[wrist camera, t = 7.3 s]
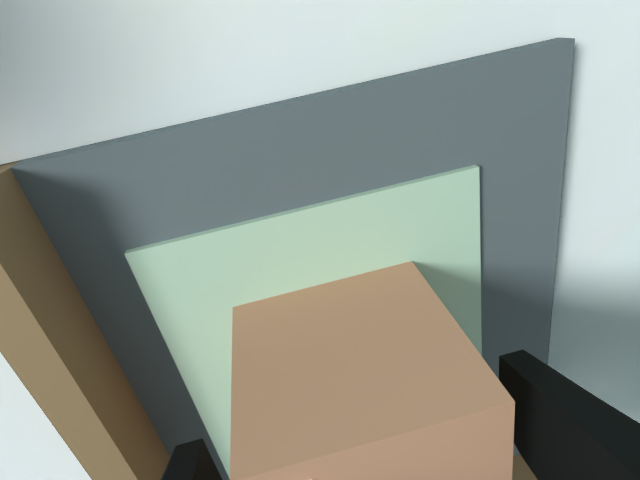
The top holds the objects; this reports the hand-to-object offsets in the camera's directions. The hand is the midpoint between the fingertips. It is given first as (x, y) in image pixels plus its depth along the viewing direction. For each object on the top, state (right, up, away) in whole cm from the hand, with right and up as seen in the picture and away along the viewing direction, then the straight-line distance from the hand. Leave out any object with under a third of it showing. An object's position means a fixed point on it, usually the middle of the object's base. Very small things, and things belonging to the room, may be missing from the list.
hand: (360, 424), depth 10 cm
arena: (0, +1, +4) cm, 4 cm away
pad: (-1, +2, +3) cm, 4 cm away
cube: (0, +1, +3) cm, 3 cm away
